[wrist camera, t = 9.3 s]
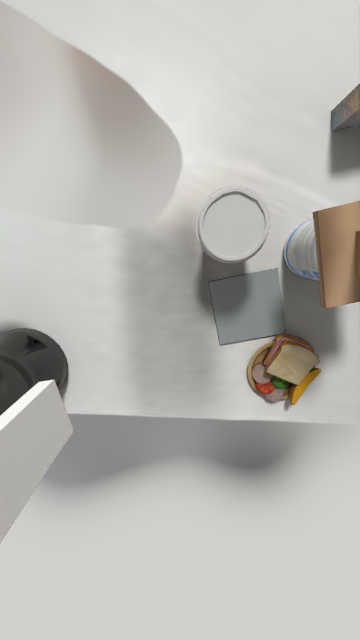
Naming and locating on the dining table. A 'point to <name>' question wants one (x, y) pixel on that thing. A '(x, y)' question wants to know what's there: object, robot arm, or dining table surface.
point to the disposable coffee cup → (232, 224)
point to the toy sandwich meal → (283, 368)
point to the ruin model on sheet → (347, 111)
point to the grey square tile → (247, 306)
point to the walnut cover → (338, 254)
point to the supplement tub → (302, 251)
